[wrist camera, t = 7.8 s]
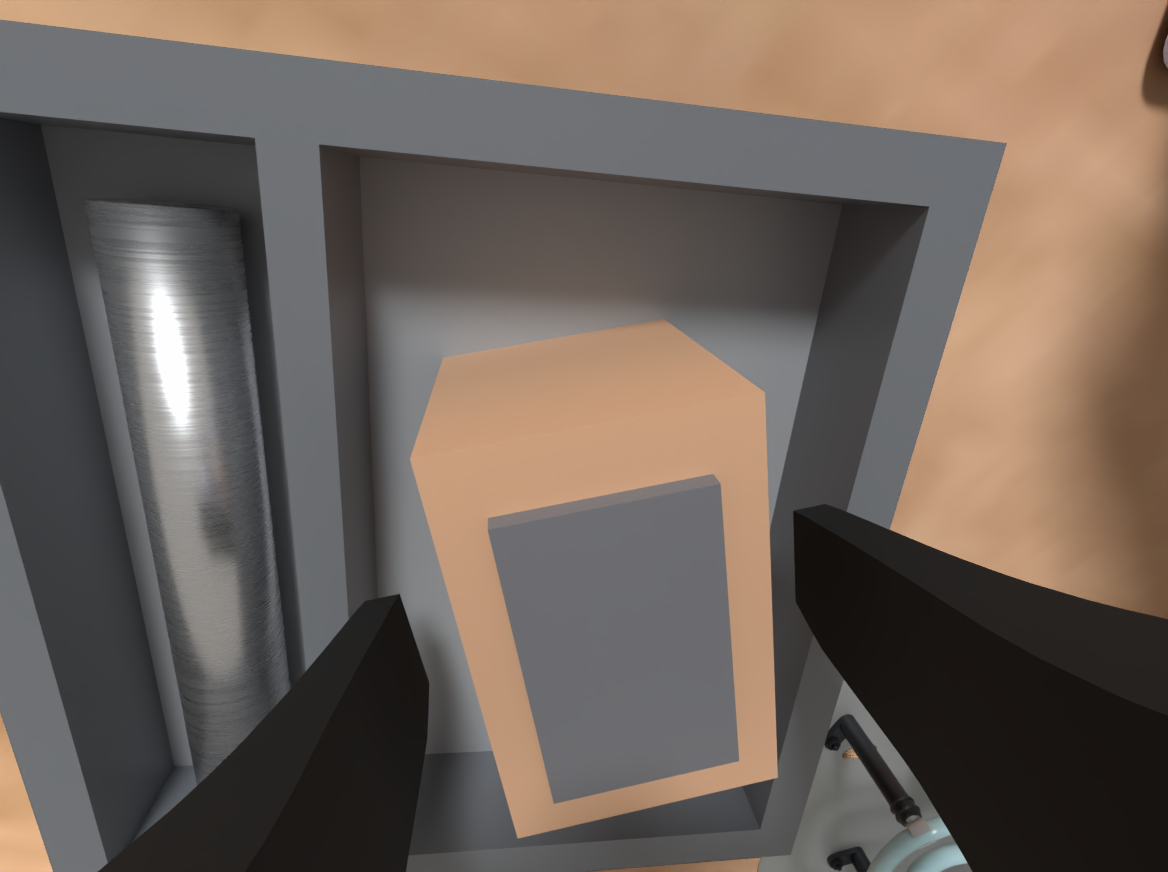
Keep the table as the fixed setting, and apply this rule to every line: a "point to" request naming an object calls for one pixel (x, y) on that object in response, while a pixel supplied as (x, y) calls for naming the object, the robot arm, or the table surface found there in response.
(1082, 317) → the table surface
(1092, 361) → the table surface
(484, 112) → the grey divided tray
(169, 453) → the rod
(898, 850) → the neon sign
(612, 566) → the block
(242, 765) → the robot arm
